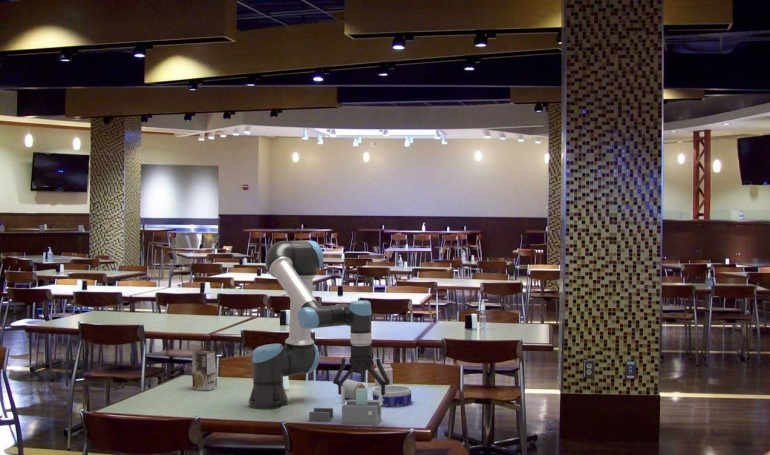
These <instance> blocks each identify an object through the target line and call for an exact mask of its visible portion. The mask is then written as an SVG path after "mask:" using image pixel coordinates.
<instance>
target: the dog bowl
mask: <svg viewBox="0 0 770 455" xmlns="http://www.w3.org/2000/svg"><path fill="white" fill-rule="evenodd" d="M372 400H379V386H378V387H375V386H374V387H373V388H372ZM411 404H412V387H411V386H407V385H402V384H401V385H400V384H393V385H386V386H385V395H382V405H381V408H401V407H407V406H409V405H411Z"/></svg>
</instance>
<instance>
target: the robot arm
mask: <svg viewBox="0 0 770 455" xmlns="http://www.w3.org/2000/svg"><path fill="white" fill-rule="evenodd" d="M264 262H265V267H266V269H267V271H268V273H269V274H270V276H271V277H273V278H275V279H276V280H277V281H278V283H279V284H280V286H281V288H283V290H284V292H285V293H286V294H287V296H288V298H289V299H290V303H289V304H290V305H289V325H288V326H289V328H288V331H289V333H288V337H287V338H286V339H285V342H284V346H283V345H282V344H281V343H270V344H264V345H260V346H257V347H256V348H255V349H254V350H253V352H252V360H251V361H252V383H253V385H252V389H251V393H250V396H249V400H248V407H250V408H253V409H259V410H264V409H265V410H267V409H271V410H272V409H279V408H281V407H286V406H288V404H289V400H288V395H287V393H286V389H285V387H284V377H290V376H297V375H298V376H299V375H302V376H303V375H306V374H311V373H314V372H315V370H316V369H317V368H318V366H319V362H320V351H319V348H318V346H317V345H316V344H315V340H314V339H313V338H312V337H311V333H312V330H313V329H318V328H319V329H320V328H328V327H329V328H331V327H341V326H343V327H344V326H349V330H350V337H349V338H350V344H351V345H350V358H347V357H345V356H344V357H342V358H341V363H340V367H339V368H338V371H337V373H336V374H335V377H334V379H333V382H332V384H334V385H336V386H337V387H338V388H337V389H338V391H337V393H338V395H339V396H340V400H341V402H340V405H345V403H346V398H345V385H342V384H343V382H344V381H345V380H346V379H349V377H350V376H351V374H352V373H353V372H354V371H357V372H360V371H362V372H366V371H368V372H369V373H370V374H371V376H372V377H373V378H374V380H375V379H376V380H377V381H378V383H379V384H380V386H379V405H382V395H385V386H386V385H389V383H390V380H389V378H388V376H387V374H386V372H385V370H384V368H383V366H382V359H381V357H378V358H373V355H372V354H373V352H372V350H373V348H372V347H373V346H372V345H371V344H372V343H373V342H372V338H373V336H372V334H373V333H372V312H373V311H372V304H371V302H370V301H369V300H352V301H350V303H349V304H347V303H337V304H335V305H323V306H322V305H321V304H320V303H319V302H318V301H317V299H316V297H315V296H314V294H313V285H314V282H313V280H314V279H315V277H316V276H317V275H318V270H320V269H321V268H322V267H323V265H324V253H323V250H322V248H321V246H320V244H319V243H318V242H317V241H315V240H305V239H304V240H281V241H280V240H279V241H277V242H276V243H274V244H272V245H271V246H270V247H269V249H268V250H267V252H266V254H265V260H264ZM349 363H350V365H351V367H350V368H349V370H347V372H346V373H345V375H344V376H343V377H342V378H340V377H341V375H342V374H343V371H344V369H345V367H346V365H347V364H349ZM373 363H374V365H375V366H376V365H377V367H378V369H379V371H380V373H381V375H382V377H383V379H384V381H385V382H384V381H383V380H382V379H381V377H380V376H379V375H378V374H377V373H376V371H375V368H374V367H373V366H372V364H373ZM339 379H340V380H339Z"/></svg>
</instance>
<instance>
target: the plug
mask: <svg viewBox="0 0 770 455" xmlns="http://www.w3.org/2000/svg"><path fill="white" fill-rule="evenodd" d="M368 395H369V394H368V388H366V387H365V388H357V389H356V405H368V400H369V399H368V398H369V397H368Z"/></svg>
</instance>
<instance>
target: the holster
mask: <svg viewBox="0 0 770 455" xmlns="http://www.w3.org/2000/svg"><path fill="white" fill-rule="evenodd" d="M308 414H309V415H308V416H309V417H308V420H307V422H309V423H310V422H311V423H312V422H313V423H314V422H317V423H318V422H319V423H322V422H323V423H330V422H331V421H332V420H333V419H334V418H335V417H336V415H334V408H333V407H313V411H309V413H308Z"/></svg>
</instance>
